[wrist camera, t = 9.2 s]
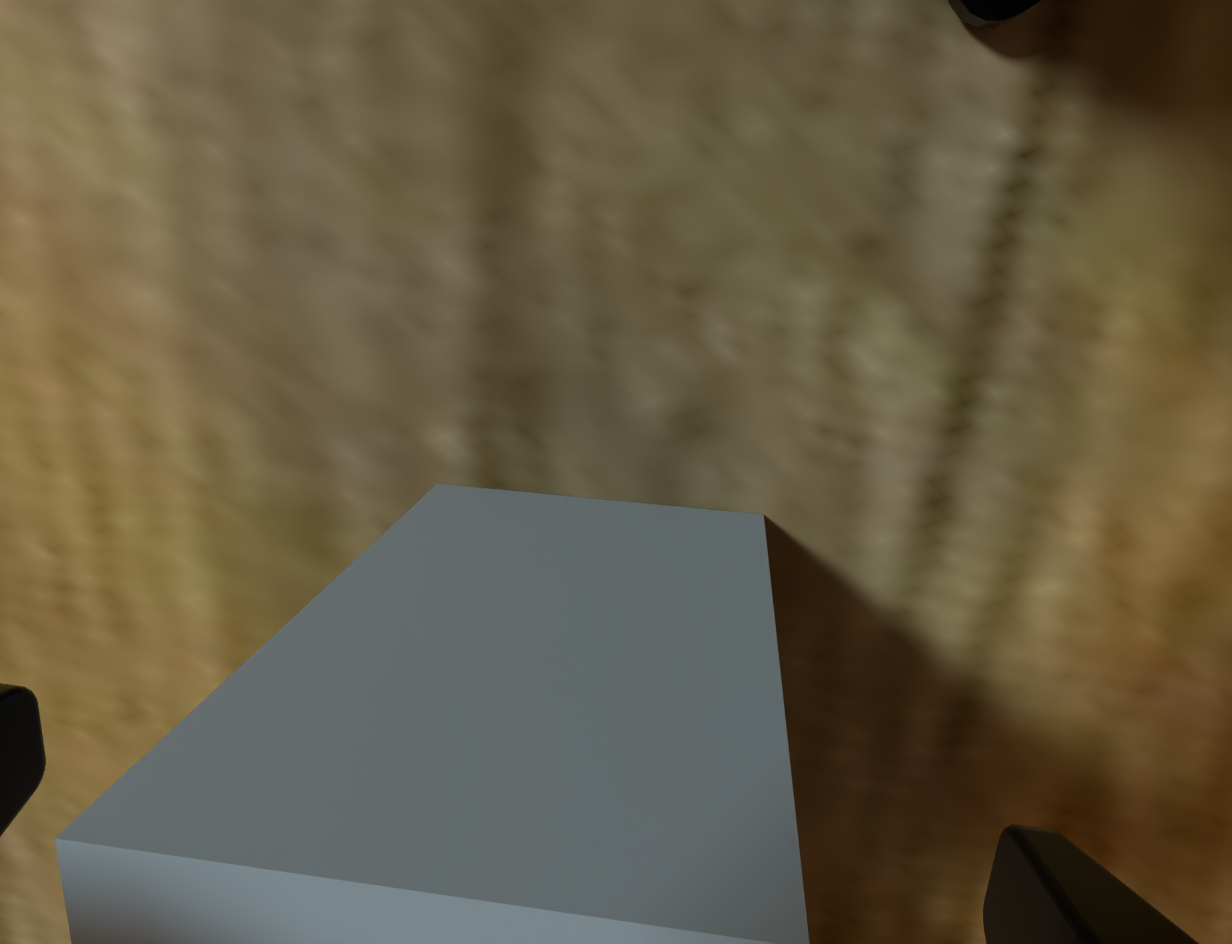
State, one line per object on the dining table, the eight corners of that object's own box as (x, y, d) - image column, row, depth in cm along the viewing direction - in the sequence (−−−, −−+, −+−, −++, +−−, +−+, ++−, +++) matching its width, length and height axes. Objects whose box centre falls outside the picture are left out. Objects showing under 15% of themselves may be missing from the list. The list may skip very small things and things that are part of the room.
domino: (438, 483, 13) (54, 838, 6) (764, 514, 13) (810, 949, 5) (437, 578, 14) (84, 1021, 6) (752, 612, 13) (781, 1139, 6)
